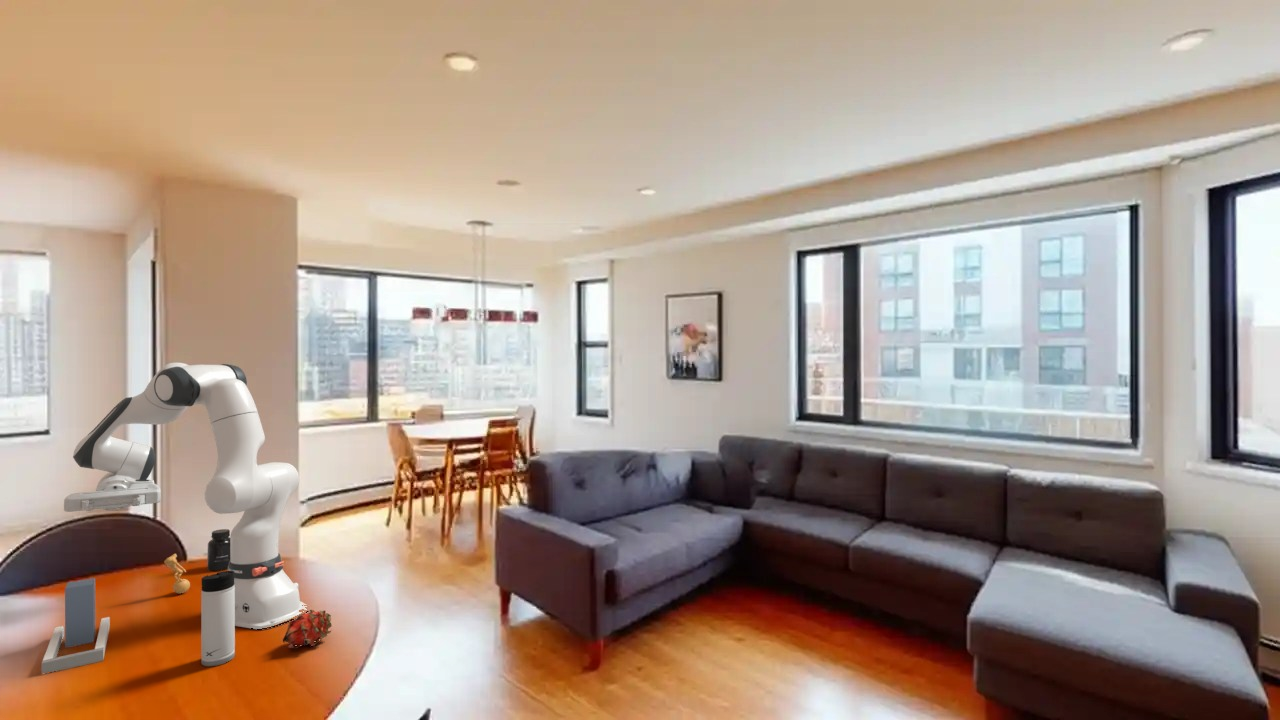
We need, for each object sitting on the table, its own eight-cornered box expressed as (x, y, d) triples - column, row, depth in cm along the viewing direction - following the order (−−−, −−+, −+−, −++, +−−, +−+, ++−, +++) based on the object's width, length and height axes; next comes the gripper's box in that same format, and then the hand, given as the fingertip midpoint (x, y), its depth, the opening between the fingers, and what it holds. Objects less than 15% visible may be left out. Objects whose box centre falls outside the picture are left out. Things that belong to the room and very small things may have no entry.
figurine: (197, 593, 177) (197, 551, 177) (175, 600, 172) (175, 558, 172) (180, 588, 181) (180, 547, 181) (157, 595, 175) (157, 554, 175)
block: (67, 640, 148) (67, 582, 148) (95, 634, 151) (95, 578, 151) (65, 648, 144) (64, 588, 144) (93, 642, 147) (93, 584, 147)
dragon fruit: (336, 640, 152) (288, 668, 142) (317, 615, 155) (268, 641, 145) (344, 619, 149) (296, 647, 139) (325, 594, 152) (275, 619, 141)
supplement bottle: (219, 572, 194) (219, 534, 194) (201, 570, 195) (201, 533, 195) (238, 565, 200) (238, 528, 200) (220, 563, 202) (220, 527, 202)
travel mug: (210, 670, 135) (209, 579, 135) (196, 661, 138) (196, 573, 138) (240, 658, 140) (240, 571, 140) (226, 650, 144) (226, 565, 143)
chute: (55, 637, 149) (55, 627, 149) (109, 626, 156) (109, 616, 156) (41, 674, 132) (41, 663, 132) (103, 660, 139) (103, 649, 139)
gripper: (65, 486, 167) (60, 498, 157) (160, 479, 180) (161, 489, 170) (65, 509, 168) (59, 522, 157) (160, 500, 180) (160, 511, 170)
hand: (113, 505), depth 163 cm, fingers open, 8 cm apart
